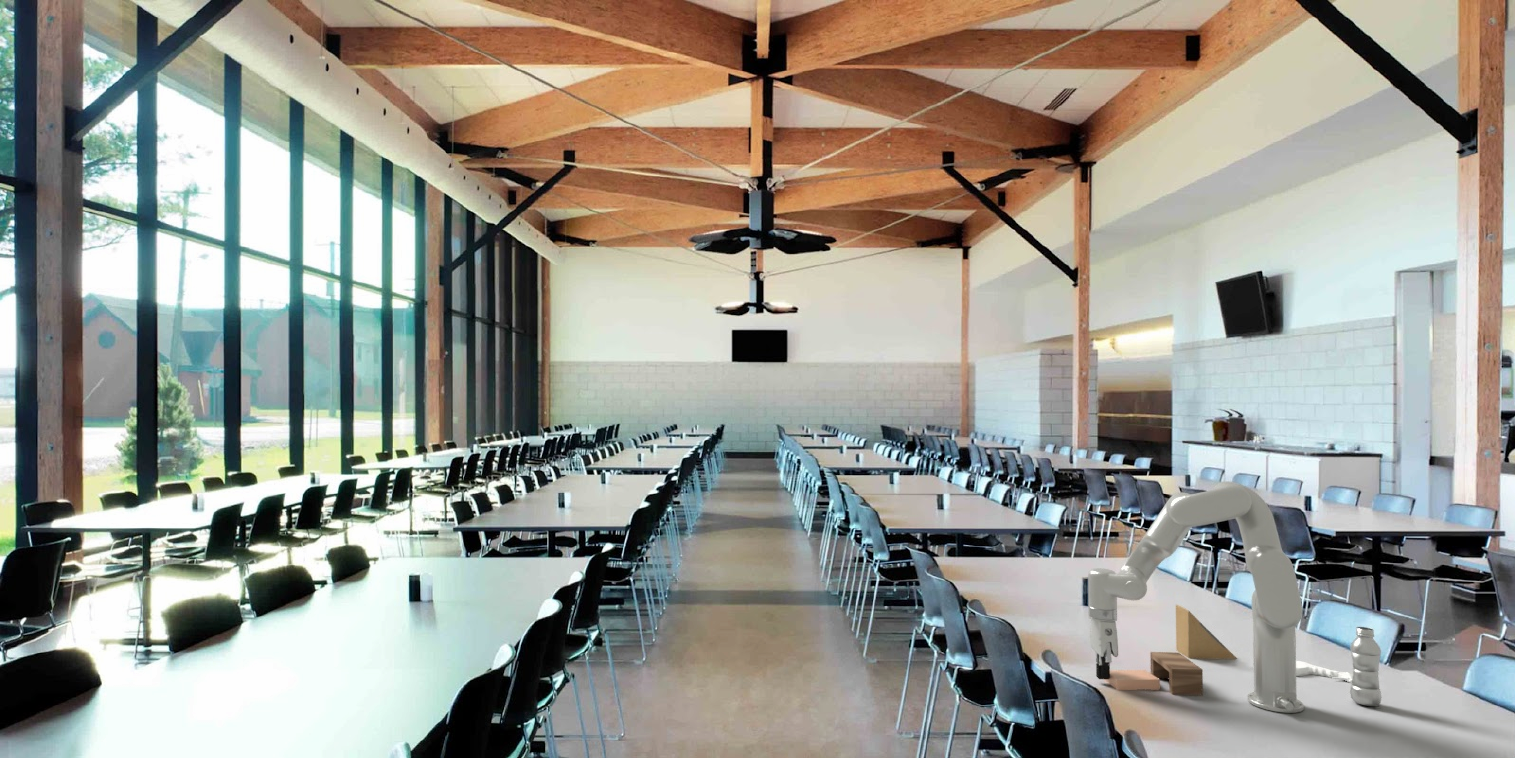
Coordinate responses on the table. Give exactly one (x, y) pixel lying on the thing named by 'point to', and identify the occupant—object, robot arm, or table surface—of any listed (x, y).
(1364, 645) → the plastic bottle
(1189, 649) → the sandwich container
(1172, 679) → the wooden bridge block
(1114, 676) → the peach flat block
